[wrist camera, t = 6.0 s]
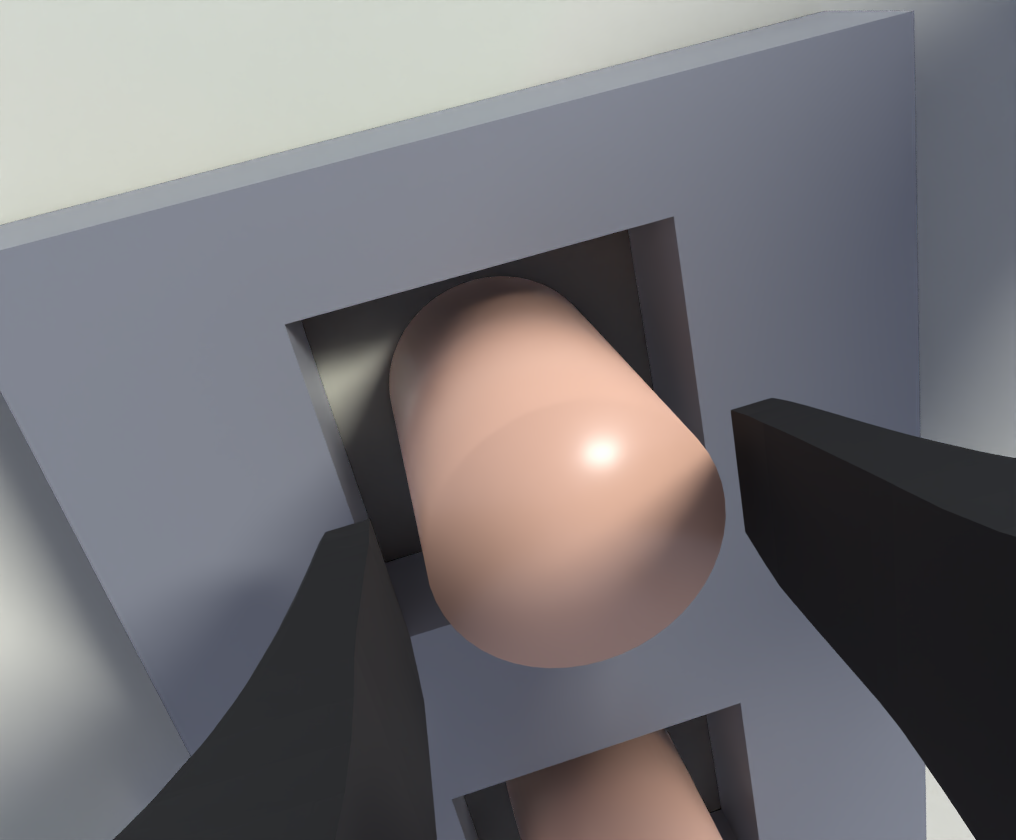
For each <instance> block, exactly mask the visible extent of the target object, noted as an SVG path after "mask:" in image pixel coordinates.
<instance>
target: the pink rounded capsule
mask: <svg viewBox="0 0 1016 840" xmlns="http://www.w3.org/2000/svg"><path fill="white" fill-rule="evenodd" d="M389 392H390V400H391V404H392V409H393V414H394V419H395V423H396V428H397V433H398V438H399V443H400V447H401V452H402V457H403V462H404V466H405V471H406V476H407V481H408V485H409V490H410V495H411V500H412V504H413V509H414V514H415V519H416V523H417V528H418V533H419V538H420V542H421V547H422V552H423V557H424V561H425V566H426V571H427V576H428V580H429V585H430V588H431V590H432V593H433V596H434V598H435V601H436V603H437V604H438V606H439V608H440V610H441V611H442V613H443V615H444V616H445V618H446V619H447V620H448V621H449V623H450V624H451V625H452V626H453V628H454V629H455V630H456V631H457V632H459V633H460V634H461V635H462V636H463V637H464V638H465V639H466V640H467V641H469V642H470V643H472V644H473V645H475V646H476V647H478V648H479V649H481V650H482V651H484V652H486V653H488V654H491V655H493V656H495V657H497V658H500V659H502V660H505V661H508V662H511V663H515V664H520V665H525V666H530V667H540V668H568V667H576V666H583V665H588V664H592V663H596V662H600V661H604V660H607V659H610V658H612V657H615V656H618V655H621V654H623V653H625V652H627V651H629V650H631V649H633V648H635V647H638V646H639V645H641V644H643V643H644V642H646V641H648V640H649V639H651V638H652V637H654V636H655V635H657V634H658V633H659V632H661V631H662V630H663V629H665V628H666V627H667V626H669V625H670V624H671V623H672V622H673V621H674V620H675V619H676V618H677V617H678V616H679V615H681V614H682V613H683V612H684V610H685V609H686V608H687V607H688V606H689V605H690V603H691V602H692V601H693V600H694V599H695V597H696V596H697V595H698V593H699V592H700V590H701V589H702V587H703V586H704V584H705V583H706V581H707V579H708V577H709V575H710V573H711V571H712V570H713V568H714V565H715V562H716V560H717V557H718V555H719V552H720V549H721V544H722V540H723V536H724V529H725V520H726V510H725V497H724V491H723V486H722V482H721V479H720V476H719V474H718V471H717V468H716V466H715V464H714V462H713V460H712V459H711V457H710V455H709V453H708V452H707V450H706V449H705V448H704V446H703V445H702V444H701V443H700V441H699V440H698V439H697V438H696V437H695V435H694V434H693V433H692V432H691V431H690V430H689V429H688V428H687V427H686V426H685V425H684V424H683V423H682V421H681V420H680V419H679V418H678V417H677V416H676V415H675V414H674V413H673V412H672V411H671V410H670V409H669V407H668V406H667V405H666V404H665V403H664V402H663V401H662V400H661V399H660V398H659V397H658V396H657V395H656V393H655V392H654V391H653V390H652V389H651V388H650V387H649V386H648V385H647V384H646V383H645V382H644V381H643V379H642V378H641V377H640V376H639V375H638V374H637V373H636V372H635V371H634V370H633V369H632V368H631V367H630V365H629V364H628V363H627V362H626V361H625V360H624V359H623V358H622V357H621V356H620V355H619V354H618V353H617V351H616V350H615V349H614V348H613V347H612V346H611V345H610V344H609V343H608V342H607V341H606V340H605V339H604V337H603V336H602V335H601V334H600V333H599V332H598V331H597V330H596V329H595V328H594V327H593V326H592V325H591V323H590V322H589V321H588V320H587V319H586V318H585V317H584V316H583V315H582V314H581V313H580V312H579V311H578V309H577V308H576V307H575V306H574V305H573V304H571V303H570V302H569V301H568V300H567V299H566V298H565V297H563V296H562V295H561V294H559V293H558V292H556V291H555V290H553V289H551V288H549V287H547V286H545V285H543V284H540V283H538V282H535V281H532V280H528V279H523V278H519V277H508V276H495V277H485V278H480V279H475V280H471V281H468V282H465V283H462V284H459V285H457V286H455V287H453V288H451V289H449V290H447V291H445V292H443V293H442V294H440V295H439V296H437V297H436V298H434V299H433V300H432V301H430V302H429V303H428V304H427V305H426V306H424V307H423V308H422V309H421V310H420V311H419V312H418V314H417V315H416V316H415V317H414V318H413V319H412V320H411V322H410V323H409V325H408V326H407V327H406V329H405V330H404V332H403V334H402V336H401V338H400V340H399V342H398V344H397V346H396V349H395V352H394V354H393V358H392V362H391V367H390V375H389Z"/></svg>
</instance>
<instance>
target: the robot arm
mask: <svg viewBox="0 0 1016 840" xmlns="http://www.w3.org/2000/svg"><path fill="white" fill-rule="evenodd" d="M731 419H732V427H733V435H734V444H735V452H736V460H737V469H738V477H739V485H740V493H741V502H742V510H743V518H744V527H745V533H746V534H747V536H748V537H749V539H750V541H751V542H752V544H753V546H754V547H755V549H756V550H757V552H758V554H759V555H760V557H761V558H762V560H763V562H764V563H765V565H766V566H767V568H768V569H769V571H770V572H771V574H772V575H773V577H774V578H775V580H776V581H777V583H778V584H779V586H780V587H781V588H782V590H783V591H784V592H785V593H786V594H787V596H788V597H789V598H790V599H791V600H792V602H793V603H794V604H795V605H796V606H797V607H798V609H799V610H800V611H801V612H802V613H803V615H804V616H805V617H806V618H807V619H808V620H809V622H810V623H811V624H812V625H813V626H814V627H815V629H816V630H817V631H818V632H819V633H820V634H821V635H822V637H823V638H824V639H825V640H826V641H827V642H828V643H829V645H830V646H831V647H832V648H833V649H834V650H835V652H836V653H837V654H838V655H839V656H840V657H841V658H842V660H843V661H844V662H845V663H846V664H847V665H848V666H849V668H850V669H851V670H852V671H853V672H854V673H855V675H856V676H857V677H858V678H859V679H860V680H861V681H862V683H863V684H864V685H865V686H866V687H867V688H868V689H869V691H870V692H871V693H872V694H873V695H874V696H875V698H876V699H877V700H878V701H879V702H880V703H881V705H882V706H883V707H884V709H885V710H886V711H887V712H888V714H889V715H890V716H891V717H892V719H893V720H894V721H895V722H896V724H897V725H898V726H899V727H900V729H901V730H902V732H903V733H904V734H905V736H906V737H907V739H908V740H909V742H910V743H911V745H912V746H913V747H914V749H915V750H916V752H917V753H918V755H919V756H920V757H921V759H922V760H923V762H924V763H925V765H926V766H927V768H928V769H929V770H930V772H931V773H932V775H933V776H934V778H935V779H936V780H937V782H938V783H939V785H940V786H941V788H942V789H943V791H944V792H945V794H946V795H947V797H948V798H949V800H950V801H951V803H952V804H953V806H954V807H955V809H956V810H957V812H958V813H959V815H960V816H961V818H962V819H963V821H964V822H965V824H966V825H967V827H968V828H969V830H970V831H971V833H972V834H973V836H974V837H975V839H976V840H1016V458H1011V457H1006V456H1000V455H995V454H990V453H985V452H980V451H975V450H971V449H966V448H962V447H958V446H953V445H949V444H944V443H940V442H936V441H932V440H928V439H924V438H920V437H916V436H912V435H908V434H904V433H901V432H897V431H893V430H890V429H886V428H883V427H879V426H876V425H872V424H869V423H865V422H862V421H858V420H855V419H851V418H848V417H845V416H841V415H838V414H834V413H831V412H828V411H824V410H821V409H817V408H814V407H810V406H806V405H803V404H799V403H795V402H791V401H787V400H782V399H776V398H769V399H766V400H762V401H759V402H756V403H752V404H749V405H746V406H742V407H739V408H736V409H732V410H731ZM113 840H437V833H436V822H435V811H434V800H433V789H432V778H431V767H430V756H429V745H428V735H427V724H426V714H425V704H424V698H423V693H422V688H421V684H420V679H419V674H418V670H417V665H416V661H415V656H414V652H413V647H412V643H411V638H410V635H409V632H408V629H407V626H406V623H405V620H404V617H403V615H402V612H401V609H400V606H399V603H398V600H397V597H396V594H395V591H394V588H393V585H392V582H391V579H390V577H389V574H388V571H387V568H386V565H385V562H384V559H383V556H382V553H381V550H380V547H379V544H378V541H377V539H376V536H375V533H374V530H373V527H372V524H371V521H370V519H367V520H364V521H360V522H357V523H354V524H350V525H347V526H344V527H341V528H337V529H334V530H331V531H327V532H325V533H324V535H323V537H322V538H321V540H320V542H319V544H318V546H317V549H316V551H315V553H314V556H313V558H312V560H311V563H310V565H309V567H308V569H307V572H306V574H305V576H304V578H303V580H302V583H301V585H300V587H299V589H298V591H297V593H296V595H295V597H294V599H293V601H292V603H291V605H290V607H289V609H288V611H287V613H286V615H285V617H284V619H283V621H282V623H281V625H280V627H279V629H278V631H277V633H276V635H275V636H274V638H273V640H272V642H271V643H270V645H269V647H268V648H267V650H266V652H265V653H264V655H263V657H262V659H261V660H260V662H259V664H258V665H257V667H256V669H255V670H254V672H253V674H252V676H251V677H250V679H249V680H248V682H247V684H246V685H245V687H244V688H243V690H242V691H241V693H240V694H239V696H238V697H237V699H236V700H235V701H234V703H233V704H232V706H231V707H230V708H229V710H228V711H227V712H226V714H225V715H224V716H223V718H222V719H221V720H220V722H219V723H218V724H217V726H216V727H215V728H214V730H213V731H212V732H211V734H210V735H209V736H208V737H207V739H206V740H205V741H204V742H203V744H202V745H201V746H200V747H199V748H198V749H197V750H196V752H195V753H194V754H193V755H192V756H191V757H190V758H189V760H188V761H187V762H186V763H185V764H184V765H183V766H182V768H181V769H180V770H179V771H178V772H177V773H176V774H175V775H174V777H173V778H172V779H171V780H170V781H169V782H168V783H167V785H166V786H165V787H164V788H163V789H162V790H161V791H160V793H159V794H158V795H157V796H156V797H155V798H154V799H153V800H152V801H151V802H150V803H149V804H148V806H147V807H146V808H145V809H144V810H143V811H142V812H141V813H140V814H139V815H138V816H137V817H136V818H135V819H134V820H133V821H132V822H131V823H130V824H129V825H128V826H127V827H126V828H125V829H124V830H123V831H122V832H121V833H120V834H119V835H117V836H116V837H115V838H114V839H113Z"/></svg>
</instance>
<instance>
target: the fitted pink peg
mask: <svg viewBox="0 0 1016 840" xmlns="http://www.w3.org/2000/svg"><path fill="white" fill-rule="evenodd" d="M506 785H507V790H508V794H509V797H510V801H511V805H512V809H513V812H514V816H515V820H516V824H517V827H518V831H519V835H520V839H521V840H723V839H722V837H721V835H720V833H719V831H718V829H717V827H716V825H715V823H714V822H713V820H712V818H711V816H710V814H709V812H708V810H707V808H706V806H705V804H704V802H703V800H702V798H701V796H700V794H699V792H698V790H697V788H696V786H695V784H694V782H693V780H692V779H691V777H690V775H689V773H688V771H687V769H686V767H685V765H684V763H683V761H682V759H681V757H680V755H679V753H678V751H677V749H676V747H675V745H674V743H673V741H672V739H671V737H670V736H669V734H668V732H667V730H666V728H664V729H661V730H658V731H655V732H652V733H649V734H646V735H643V736H640V737H637V738H634V739H631V740H628V741H625V742H622V743H619V744H616V745H613V746H610V747H607V748H604V749H601V750H598V751H595V752H592V753H589V754H586V755H583V756H580V757H577V758H574V759H571V760H568V761H565V762H562V763H559V764H556V765H553V766H550V767H547V768H544V769H541V770H538V771H535V772H532V773H529V774H526V775H523V776H520V777H517V778H514V779H511V780H508V781H506Z"/></svg>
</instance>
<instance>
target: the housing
mask: <svg viewBox="0 0 1016 840" xmlns="http://www.w3.org/2000/svg"><path fill="white" fill-rule="evenodd" d="M626 229H628V233H629V239H630V246H631V252H632V258H633V264H634V270H635V277H636V283H637V289H638V295H639V301H640V308H641V314H642V320H643V326H644V332H645V339H646V345H647V351H648V357H649V363H650V370H651V376H652V382H653V388H654V392H655V393H656V395H657V396H658V397H659V398H660V399H661V400H662V401H663V402H664V403H665V404H666V405H667V406H668V407H669V409H670V410H671V411H672V412H673V413H674V414H675V415H676V416H677V417H678V418H679V419H680V420H681V421H682V423H683V424H684V425H685V426H686V427H687V428H688V429H689V430H690V431H691V432H692V433H693V434H694V435H695V437H696V438H697V439H698V440H699V441H700V443H701V444H702V445H703V446H704V448H705V449H706V450H707V452H708V453H709V455H710V457H711V459H712V460H713V462H714V464H715V466H716V468H717V471H718V474H719V476H720V479H721V482H722V486H723V491H724V497H725V510H726V520H725V529H724V536H723V540H722V544H721V549H720V552H719V555H718V557H717V560H716V562H715V565H714V568H713V570H712V571H711V573H710V575H709V577H708V579H707V581H706V583H705V584H704V586H703V587H702V589H701V590H700V592H699V593H698V595H697V596H696V597H695V599H694V600H693V601H692V602H691V603H690V605H689V606H688V607H687V608H686V609H685V610H684V612H683V613H682V614H681V615H679V616H678V617H677V618H676V619H675V620H674V621H673V622H672V623H671V624H670V625H669V626H667V627H666V628H665V629H663V630H662V631H661V632H659V633H658V634H657V635H655V636H654V637H652V638H651V639H649V640H648V641H646V642H644V643H643V644H641V645H639V646H638V647H635V648H633V649H631V650H629V651H627V652H625V653H623V654H621V655H618V656H615V657H612V658H610V659H607V660H604V661H600V662H596V663H592V664H588V665H583V666H576V667H568V668H540V667H530V666H525V665H520V664H515V663H511V662H508V661H505V660H502V659H500V658H497V657H495V656H493V655H491V654H488V653H486V652H484V651H482V650H481V649H479V648H478V647H476V646H475V645H473V644H472V643H470V642H469V641H467V640H466V639H465V638H464V637H463V636H462V635H461V634H460V633H459V632H457V631H456V630H455V629H454V628H453V626H452V625H451V624H450V623H449V621H448V620H447V619H446V618H445V616H444V615H443V613H442V611H441V610H440V608H439V606H438V604H437V603H436V601H435V598H434V596H433V593H432V590H431V588H430V585H429V580H428V576H427V571H426V566H425V561H424V557H423V552H419V553H416V554H413V555H410V556H406V557H403V558H400V559H397V560H393V561H390V562H387V563H385V565H386V568H387V571H388V574H389V577H390V579H391V582H392V585H393V588H394V591H395V594H396V597H397V600H398V603H399V606H400V609H401V612H402V615H403V617H404V620H405V623H406V626H407V629H408V632H409V635H410V638H411V643H412V647H413V652H414V656H415V661H416V665H417V670H418V674H419V679H420V684H421V688H422V693H423V698H424V704H425V714H426V724H427V735H428V745H429V756H430V767H431V778H432V789H433V800H434V811H435V822H436V833H437V840H479V839H478V836H477V833H476V830H475V827H474V824H473V822H472V819H471V816H470V813H469V810H468V807H467V804H466V801H465V798H464V795H466V794H469V793H472V792H475V791H478V790H481V789H484V788H487V787H490V786H493V785H496V784H499V783H502V782H505V781H508V780H511V779H514V778H517V777H520V776H523V775H526V774H529V773H532V772H535V771H538V770H541V769H544V768H547V767H550V766H553V765H556V764H559V763H562V762H565V761H568V760H571V759H574V758H577V757H580V756H583V755H586V754H589V753H592V752H595V751H598V750H601V749H604V748H607V747H610V746H613V745H616V744H619V743H622V742H625V741H628V740H631V739H634V738H637V737H640V736H643V735H646V734H649V733H652V732H655V731H658V730H661V729H664V728H667V727H670V726H673V725H676V724H679V723H682V722H685V721H688V720H691V719H694V718H697V717H700V716H703V715H706V717H707V723H708V729H709V735H710V742H711V748H712V754H713V760H714V766H715V773H716V779H717V785H718V791H719V797H720V804H721V810H718V811H715V812H712V813H709V814H710V816H711V818H712V820H713V822H714V823H715V825H716V827H717V829H718V831H719V833H720V835H721V837H722V839H723V840H926V785H925V763H924V762H923V760H922V759H921V757H920V756H919V755H918V753H917V752H916V750H915V749H914V747H913V746H912V745H911V743H910V742H909V740H908V739H907V737H906V736H905V734H904V733H903V732H902V730H901V729H900V727H899V726H898V725H897V724H896V722H895V721H894V720H893V719H892V717H891V716H890V715H889V714H888V712H887V711H886V710H885V709H884V707H883V706H882V705H881V703H880V702H879V701H878V700H877V699H876V698H875V696H874V695H873V694H872V693H871V692H870V691H869V689H868V688H867V687H866V686H865V685H864V684H863V683H862V681H861V680H860V679H859V678H858V677H857V676H856V675H855V673H854V672H853V671H852V670H851V669H850V668H849V666H848V665H847V664H846V663H845V662H844V661H843V660H842V658H841V657H840V656H839V655H838V654H837V653H836V652H835V650H834V649H833V648H832V647H831V646H830V645H829V643H828V642H827V641H826V640H825V639H824V638H823V637H822V635H821V634H820V633H819V632H818V631H817V630H816V629H815V627H814V626H813V625H812V624H811V623H810V622H809V620H808V619H807V618H806V617H805V616H804V615H803V613H802V612H801V611H800V610H799V609H798V607H797V606H796V605H795V604H794V603H793V602H792V600H791V599H790V598H789V597H788V596H787V594H786V593H785V592H784V591H783V590H782V588H781V587H780V586H779V584H778V583H777V581H776V580H775V578H774V577H773V575H772V574H771V572H770V571H769V569H768V568H767V566H766V565H765V563H764V562H763V560H762V558H761V557H760V555H759V554H758V552H757V550H756V549H755V547H754V546H753V544H752V542H751V541H750V539H749V537H748V536H747V534H746V533H745V527H744V518H743V510H742V502H741V493H740V485H739V477H738V469H737V460H736V452H735V444H734V435H733V427H732V419H731V410H732V409H736V408H739V407H742V406H746V405H749V404H752V403H756V402H759V401H762V400H766V399H769V398H776V399H782V400H787V401H791V402H795V403H799V404H803V405H806V406H810V407H814V408H817V409H821V410H824V411H828V412H831V413H834V414H838V415H841V416H845V417H848V418H851V419H855V420H858V421H862V422H865V423H869V424H872V425H876V426H879V427H883V428H886V429H890V430H893V431H897V432H901V433H904V434H908V435H912V436H916V437H920V381H919V314H918V247H917V180H916V112H915V45H914V11H823V12H819V13H815V14H811V15H807V16H804V17H800V18H796V19H792V20H788V21H784V22H781V23H777V24H773V25H769V26H765V27H761V28H757V29H754V30H750V31H746V32H742V33H738V34H734V35H730V36H727V37H723V38H719V39H715V40H711V41H707V42H704V43H700V44H696V45H692V46H688V47H684V48H680V49H677V50H673V51H669V52H665V53H661V54H657V55H653V56H650V57H646V58H642V59H638V60H634V61H630V62H627V63H623V64H619V65H615V66H611V67H607V68H603V69H600V70H596V71H592V72H588V73H584V74H580V75H576V76H573V77H569V78H565V79H561V80H557V81H553V82H550V83H546V84H542V85H538V86H534V87H530V88H526V89H523V90H519V91H515V92H511V93H507V94H503V95H499V96H496V97H492V98H488V99H484V100H480V101H476V102H473V103H469V104H465V105H461V106H457V107H453V108H449V109H446V110H442V111H438V112H434V113H430V114H426V115H422V116H419V117H415V118H411V119H407V120H403V121H399V122H396V123H392V124H388V125H384V126H380V127H376V128H372V129H369V130H365V131H361V132H357V133H353V134H349V135H345V136H342V137H338V138H334V139H330V140H326V141H322V142H319V143H315V144H311V145H307V146H303V147H299V148H295V149H292V150H288V151H284V152H280V153H276V154H272V155H268V156H265V157H261V158H257V159H253V160H249V161H245V162H242V163H238V164H234V165H230V166H226V167H222V168H218V169H215V170H211V171H207V172H203V173H199V174H195V175H191V176H188V177H184V178H180V179H176V180H172V181H168V182H165V183H161V184H157V185H153V186H149V187H145V188H141V189H138V190H134V191H130V192H126V193H122V194H118V195H114V196H111V197H107V198H103V199H99V200H95V201H91V202H88V203H84V204H80V205H76V206H72V207H68V208H64V209H61V210H57V211H53V212H49V213H45V214H41V215H37V216H34V217H30V218H26V219H22V220H18V221H14V222H11V223H7V224H3V225H0V392H1V394H2V395H3V397H4V399H5V401H6V403H7V405H8V407H9V409H10V411H11V413H12V415H13V417H14V418H15V420H16V422H17V424H18V426H19V428H20V430H21V432H22V434H23V436H24V438H25V440H26V441H27V443H28V445H29V447H30V449H31V451H32V453H33V455H34V457H35V459H36V461H37V463H38V464H39V466H40V468H41V470H42V472H43V474H44V476H45V478H46V480H47V482H48V484H49V486H50V487H51V489H52V491H53V493H54V495H55V497H56V499H57V501H58V503H59V505H60V507H61V509H62V510H63V512H64V514H65V516H66V518H67V520H68V522H69V524H70V526H71V528H72V530H73V532H74V533H75V535H76V537H77V539H78V541H79V543H80V545H81V547H82V549H83V551H84V553H85V555H86V556H87V558H88V560H89V562H90V564H91V566H92V568H93V570H94V572H95V574H96V576H97V578H98V580H99V581H100V583H101V585H102V587H103V589H104V591H105V593H106V595H107V597H108V599H109V601H110V603H111V604H112V606H113V608H114V610H115V612H116V614H117V616H118V618H119V620H120V622H121V624H122V626H123V627H124V629H125V631H126V633H127V635H128V637H129V639H130V641H131V643H132V645H133V647H134V649H135V650H136V652H137V654H138V656H139V658H140V660H141V662H142V664H143V666H144V668H145V670H146V672H147V673H148V675H149V677H150V679H151V681H152V683H153V685H154V687H155V689H156V691H157V693H158V695H159V696H160V698H161V700H162V702H163V704H164V706H165V708H166V710H167V712H168V714H169V716H170V718H171V719H172V721H173V723H174V725H175V727H176V729H177V731H178V733H179V735H180V737H181V739H182V741H183V742H184V744H185V746H186V748H187V750H188V752H189V754H190V756H192V755H193V754H194V753H195V752H196V750H197V749H198V748H199V747H200V746H201V745H202V744H203V742H204V741H205V740H206V739H207V737H208V736H209V735H210V734H211V732H212V731H213V730H214V728H215V727H216V726H217V724H218V723H219V722H220V720H221V719H222V718H223V716H224V715H225V714H226V712H227V711H228V710H229V708H230V707H231V706H232V704H233V703H234V701H235V700H236V699H237V697H238V696H239V694H240V693H241V691H242V690H243V688H244V687H245V685H246V684H247V682H248V680H249V679H250V677H251V676H252V674H253V672H254V670H255V669H256V667H257V665H258V664H259V662H260V660H261V659H262V657H263V655H264V653H265V652H266V650H267V648H268V647H269V645H270V643H271V642H272V640H273V638H274V636H275V635H276V633H277V631H278V629H279V627H280V625H281V623H282V621H283V619H284V617H285V615H286V613H287V611H288V609H289V607H290V605H291V603H292V601H293V599H294V597H295V595H296V593H297V591H298V589H299V587H300V585H301V583H302V580H303V578H304V576H305V574H306V572H307V569H308V567H309V565H310V563H311V560H312V558H313V556H314V553H315V551H316V549H317V546H318V544H319V542H320V540H321V538H322V537H323V535H324V533H325V532H327V531H331V530H334V529H337V528H341V527H344V526H347V525H350V524H354V523H357V522H360V521H364V520H367V519H369V518H368V515H367V512H366V509H365V506H364V503H363V500H362V497H361V495H360V492H359V489H358V486H357V483H356V480H355V477H354V474H353V471H352V468H351V465H350V462H349V459H348V457H347V454H346V451H345V448H344V445H343V442H342V439H341V436H340V433H339V430H338V427H337V424H336V422H335V419H334V416H333V413H332V410H331V407H330V404H329V401H328V398H327V395H326V392H325V389H324V387H323V384H322V381H321V378H320V375H319V372H318V369H317V366H316V363H315V360H314V357H313V354H312V351H311V349H310V346H309V343H308V340H307V337H306V334H305V331H304V328H303V325H302V322H301V320H303V319H306V318H310V317H313V316H317V315H321V314H324V313H328V312H331V311H335V310H339V309H342V308H346V307H349V306H353V305H357V304H360V303H364V302H367V301H371V300H375V299H378V298H382V297H385V296H389V295H393V294H396V293H400V292H403V291H407V290H410V289H414V288H418V287H421V286H425V285H428V284H432V283H436V282H439V281H443V280H446V279H450V278H454V277H457V276H461V275H464V274H468V273H472V272H475V271H479V270H482V269H486V268H490V267H493V266H497V265H500V264H504V263H508V262H511V261H515V260H518V259H522V258H526V257H529V256H533V255H536V254H540V253H544V252H547V251H551V250H554V249H558V248H562V247H565V246H569V245H572V244H576V243H580V242H583V241H587V240H590V239H594V238H598V237H601V236H605V235H608V234H612V233H616V232H619V231H623V230H626Z"/></svg>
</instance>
